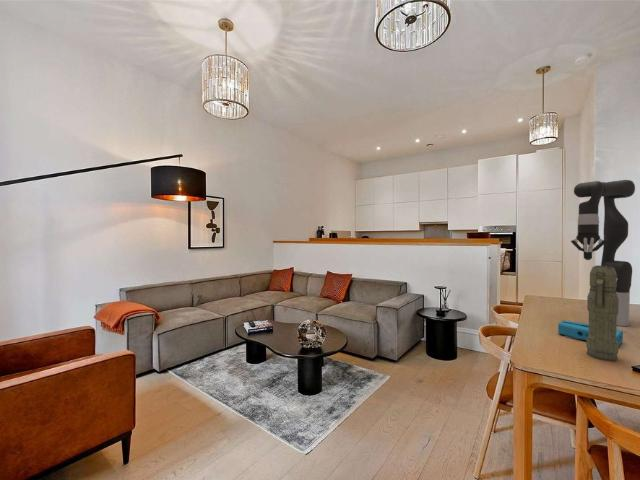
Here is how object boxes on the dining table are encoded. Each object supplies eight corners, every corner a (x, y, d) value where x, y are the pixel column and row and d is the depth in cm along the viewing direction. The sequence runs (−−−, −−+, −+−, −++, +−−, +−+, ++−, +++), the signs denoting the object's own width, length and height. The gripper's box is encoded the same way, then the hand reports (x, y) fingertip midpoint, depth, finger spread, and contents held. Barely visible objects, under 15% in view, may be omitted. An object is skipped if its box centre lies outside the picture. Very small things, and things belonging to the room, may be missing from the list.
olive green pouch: (585, 357, 114) (586, 266, 113) (587, 348, 122) (588, 264, 121) (617, 364, 107) (619, 268, 107) (618, 355, 116) (619, 265, 115)
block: (557, 334, 138) (617, 347, 122) (557, 323, 138) (617, 335, 122) (564, 329, 145) (622, 341, 129) (565, 319, 145) (622, 329, 129)
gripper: (604, 223, 141) (604, 259, 141) (569, 224, 148) (568, 258, 149) (609, 223, 135) (608, 261, 135) (571, 223, 142) (571, 259, 142)
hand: (587, 259), depth 142 cm, fingers closed
